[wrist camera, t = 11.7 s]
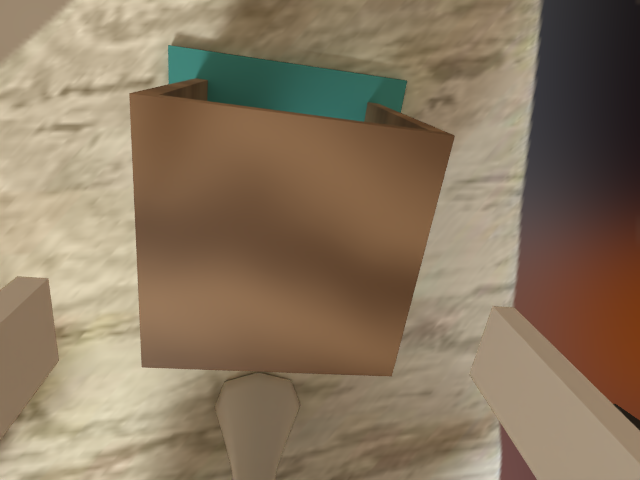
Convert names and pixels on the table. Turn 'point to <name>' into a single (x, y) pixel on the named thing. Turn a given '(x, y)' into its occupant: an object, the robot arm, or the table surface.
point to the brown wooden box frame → (278, 232)
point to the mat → (284, 84)
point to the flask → (256, 423)
